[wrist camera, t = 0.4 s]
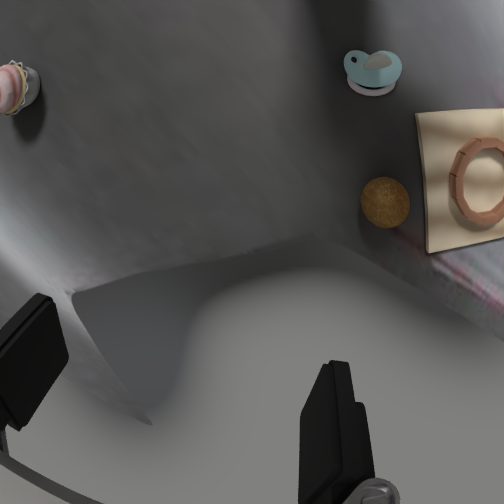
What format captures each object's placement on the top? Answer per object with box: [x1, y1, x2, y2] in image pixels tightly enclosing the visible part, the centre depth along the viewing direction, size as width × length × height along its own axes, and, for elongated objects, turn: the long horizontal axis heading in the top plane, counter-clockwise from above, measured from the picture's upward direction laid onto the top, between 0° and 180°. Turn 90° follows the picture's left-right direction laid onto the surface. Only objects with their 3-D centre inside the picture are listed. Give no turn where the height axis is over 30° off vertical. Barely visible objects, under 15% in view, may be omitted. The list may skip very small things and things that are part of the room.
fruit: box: [360, 176, 410, 229], centre depth 37 cm, size 6×6×8 cm
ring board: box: [415, 108, 504, 253], centre depth 36 cm, size 20×20×3 cm
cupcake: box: [0, 60, 40, 118], centre depth 33 cm, size 9×9×10 cm
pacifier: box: [344, 50, 402, 96], centre depth 31 cm, size 7×6×6 cm
